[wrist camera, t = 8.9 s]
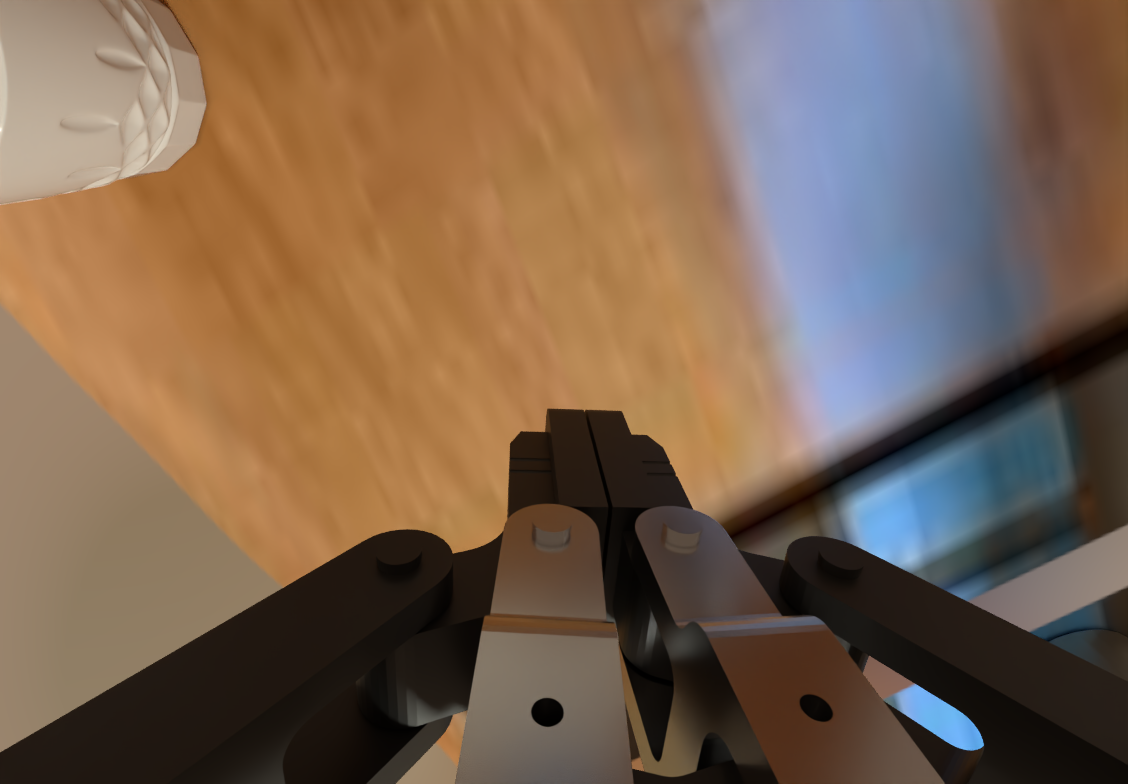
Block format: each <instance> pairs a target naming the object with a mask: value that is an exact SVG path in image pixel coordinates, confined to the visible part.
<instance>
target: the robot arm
mask: <svg viewBox="0 0 1128 784" xmlns="http://www.w3.org/2000/svg"><path fill="white" fill-rule="evenodd" d="M616 628H617V630H616ZM617 632H618V636H619V644H618V636H617ZM869 656H871V657H873V658H874V659H876V660H877V661H879V662H881V663H882V664H884V665H886V666H887V667H889V668H891V669H892V670H894V671H895V672H897V673H899V674H900V675H902V676H904V677H905V678H907V679H908V680H910V681H912V682H913V683H915V684H917V685H918V686H920V687H921V688H923V689H925V690H926V691H928V692H930V693H931V694H933V695H935V696H936V697H938V698H939V699H941V700H943V701H944V702H946V703H948V704H949V705H951V706H953V707H954V708H956V709H957V710H959V711H960V712H962V713H963V714H964V715H965V716H967V717H968V718H969V719H970V720H971V721H972V722H973V723H974V725H975V726H976V727H977V729H978V730H979V732H980V734H981V736H982V739H983V743H984V746H983V747H982V748H981V749H978V750H973V751H970V750H963V749H960V748H957V747H955V746H952V745H951V744H949V743H947V742H946V741H944V740H943V739H941V738H940V737H938V736H937V735H935V734H933V733H932V732H930V731H929V730H927V729H926V728H924V727H923V726H921V725H920V724H918V723H917V722H915V721H914V720H912V719H911V718H909V717H907V716H906V715H904V714H903V713H901V712H900V711H898V710H897V709H895V708H894V707H892V706H891V705H889V704H888V703H886V702H884V701H883V700H882V698H881V697H880V696H879V695H878V693H877V692H876V691H875V689H874V688H873V687H872V685H871V684H870V682H869V681H868V680H867V678H866V677H865V676H864V675H863V671H864V668H865V665H866V662H867V660H868V657H869ZM625 703H626V707H627V710H628V714H629V718H630V721H631V725H632V728H633V732H634V735H635V739H636V743H637V746H638V750H639V753H640V757H641V760H642V764H643V767H644V771H645V772H644V771H639V770H635V769H632V764H631V754H630V745H629V736H628V727H627V718H626V709H625ZM466 710H468V712H467V718H466V723H465V729H464V735H463V741H462V746H461V752H460V758H459V764H458V769H457V775H456V781H455V784H1128V637H1126V636H1124V635H1122V634H1120V633H1118V632H1113V631H1109V630H1085V631H1079V632H1074V633H1070V634H1067V635H1064V636H1061V637H1058V638H1056V639H1053V640H1051V641H1049V642H1048V641H1046V640H1044V639H1042V638H1039V637H1037V636H1035V635H1033V634H1031V633H1029V632H1027V631H1025V630H1023V629H1021V628H1019V627H1017V626H1015V625H1013V624H1011V623H1009V622H1007V621H1005V620H1003V619H1001V618H999V617H997V616H995V615H993V614H991V613H989V612H987V611H985V610H983V609H981V608H979V607H977V606H975V605H973V604H971V603H969V602H967V601H965V600H963V599H961V598H959V597H957V596H955V595H953V594H951V593H949V592H947V591H945V590H943V589H941V588H939V587H937V586H935V585H933V584H931V583H929V582H927V581H925V580H923V579H921V578H919V577H917V576H915V575H913V574H911V573H909V572H907V571H905V570H903V569H901V568H899V567H897V566H895V565H893V564H891V563H889V562H887V561H885V560H883V559H881V558H879V557H877V556H875V555H873V554H871V553H869V552H867V551H865V550H863V549H861V548H859V547H856V546H854V545H852V544H849V543H847V542H844V541H841V540H837V539H833V538H828V537H819V536H809V537H803V538H800V539H797V540H795V541H793V542H792V543H791V544H790V545H789V547H788V549H787V553H786V557H785V561H784V560H780V559H775V558H770V557H766V556H761V555H757V554H752V553H748V552H745V551H741V550H738V549H737V548H736V546H735V545H734V543H733V542H732V540H731V539H730V537H729V536H728V534H727V533H726V531H725V530H724V529H723V527H722V526H721V525H720V524H719V523H718V522H716V521H715V520H714V519H712V518H711V517H709V516H707V515H705V514H703V513H701V512H698V511H695V510H693V508H692V506H691V504H690V502H689V500H688V498H687V496H686V494H685V492H684V490H683V488H682V485H681V483H680V481H679V479H678V477H677V476H676V473H675V471H674V469H673V467H672V465H671V464H670V461H669V459H668V457H667V455H666V453H665V451H664V449H663V447H662V446H660V445H659V444H658V443H656V442H655V441H654V440H653V439H651V438H650V437H649V436H647V435H631V433H630V430H629V428H628V425H627V423H626V420H625V418H624V415H623V413H622V411H607V410H585V412H584V410H574V409H547V415H546V428H545V432H523V431H521V432H520V433H519V434H518V435H517V437H516V438H515V439H514V440H513V441H512V442H511V443H510V462H509V487H508V514H507V521H506V523H505V526H504V531H503V532H502V533H501V534H500V535H499V536H498V537H497V538H496V539H494V540H493V541H491V542H490V543H488V544H486V545H484V546H481V547H478V548H475V549H472V550H468V551H463V552H458V553H454V554H453V553H452V550H451V548H450V547H449V545H448V544H447V543H446V542H445V541H444V540H443V539H441V538H440V537H438V536H436V535H434V534H432V533H428V532H425V531H420V530H408V529H406V530H395V531H389V532H385V533H381V534H378V535H376V536H373V537H371V538H369V539H367V540H365V541H363V542H361V543H360V544H358V545H356V546H354V547H353V548H351V549H349V550H348V551H346V552H344V553H342V554H341V555H339V556H337V557H336V558H334V559H332V560H330V561H329V562H327V563H325V564H323V565H322V566H320V567H318V568H317V569H315V570H313V571H311V572H310V573H308V574H306V575H305V576H303V577H301V578H299V579H298V580H296V581H294V582H293V583H291V584H289V585H287V586H286V587H284V588H282V589H281V590H279V591H277V592H275V593H274V594H272V595H270V596H268V597H267V598H265V599H263V600H262V601H260V602H258V603H256V604H255V605H253V606H251V607H250V608H248V609H246V610H244V611H243V612H241V613H239V614H238V615H236V616H234V617H232V618H231V619H229V620H227V621H226V622H224V623H222V624H220V625H219V626H217V627H215V628H213V629H212V630H210V631H208V632H207V633H205V634H203V635H201V636H200V637H198V638H196V639H195V640H193V641H191V642H189V643H188V644H186V645H184V646H183V647H181V648H179V649H177V650H176V651H174V652H172V653H171V654H169V655H167V656H165V657H164V658H162V659H160V660H158V661H157V662H155V663H153V664H152V665H150V666H148V667H146V668H145V669H143V670H141V671H140V672H138V673H136V674H134V675H133V676H131V677H129V678H127V679H126V680H124V681H122V682H121V683H119V684H117V685H115V686H114V687H112V688H110V689H109V690H107V691H105V692H103V693H102V694H100V695H98V696H97V697H95V698H93V699H91V700H90V701H88V702H86V703H85V704H83V705H81V706H79V707H78V708H76V709H74V710H72V711H71V712H69V713H68V714H66V715H64V716H62V717H60V718H59V719H57V720H55V721H54V722H52V723H50V724H49V725H47V726H45V727H43V728H42V729H40V730H38V731H36V732H35V733H33V734H31V735H30V736H28V737H26V738H24V739H23V740H21V741H19V742H18V743H16V744H14V745H12V746H11V747H9V748H7V749H5V750H4V751H2V752H0V784H396V783H397V782H398V780H400V779H401V777H402V776H403V775H404V774H405V773H406V772H407V771H408V770H409V769H410V768H411V767H412V766H413V765H414V764H415V763H416V762H417V761H418V760H419V759H420V758H421V757H422V756H423V755H424V754H425V753H426V752H427V751H428V749H430V748H431V747H432V746H433V744H435V743H436V741H437V740H438V739H439V738H440V737H441V736H442V735H443V734H444V732H445V731H446V730H447V728H448V726H449V724H450V722H451V719H452V716H453V715H454V714H457V713H460V712H463V711H466Z"/></svg>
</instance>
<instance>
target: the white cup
mask: <svg viewBox="0 0 1128 784" xmlns="http://www.w3.org/2000/svg"><path fill="white" fill-rule="evenodd" d="M206 105H207V103H206V97H205V91H204V85H203V80H202V74H201V68H200V63H199V57H198V55H197V53H196V52H195V50H194V48H193V47H192V45H191V43H190V42H189V40H188V38H187V37H186V35H185V33H184V32H183V30H182V28H181V27H180V25H179V23H178V22H177V20H176V19H175V17H174V15H173V14H172V12H171V10H170V9H168V8H167V7H166V6H165V5H164V4H162V3H161V2H160V1H159V0H0V205H4V204H11V203H17V202H24V201H31V200H37V199H43V198H48V197H52V196H56V195H59V194H66V193H73V192H78V191H82V190H86V189H90V188H96V187H102V186H107V185H109V184H111V183H113V182H114V181H116V180H120V179H126V178H131V177H136V176H141V175H146V174H151V173H156V172H161V171H165V170H168V169H169V168H170V167H171V166H172V165H173V164H174V163H175V162H176V161H177V160H179V159H180V158H181V157H182V156H183V155H184V154H185V153H186V152H187V151H188V150H189V149H190V148H191V147H193V146H194V145H195V143H196V140H197V136H198V133H199V129H200V126H201V122H202V119H203V115H204V112H205V108H206Z"/></svg>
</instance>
